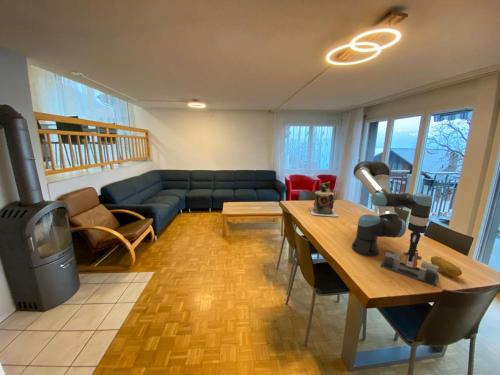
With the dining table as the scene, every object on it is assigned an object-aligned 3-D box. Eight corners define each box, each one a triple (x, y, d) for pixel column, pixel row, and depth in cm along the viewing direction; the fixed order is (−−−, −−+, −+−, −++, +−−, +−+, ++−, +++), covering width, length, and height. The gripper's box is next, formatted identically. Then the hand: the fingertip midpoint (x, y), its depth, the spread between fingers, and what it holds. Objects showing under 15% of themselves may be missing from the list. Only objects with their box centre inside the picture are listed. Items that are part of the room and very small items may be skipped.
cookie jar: (308, 208, 222) (311, 179, 216) (332, 209, 219) (335, 180, 213) (312, 216, 198) (315, 183, 192) (339, 217, 195) (343, 184, 189)
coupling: (420, 266, 110) (422, 254, 109) (419, 269, 107) (421, 257, 106) (402, 260, 116) (404, 249, 114) (401, 264, 112) (403, 252, 111)
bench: (380, 266, 117) (382, 253, 115) (385, 258, 125) (387, 246, 123) (436, 287, 100) (440, 272, 99) (438, 276, 109) (441, 262, 107)
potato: (450, 281, 105) (453, 268, 104) (425, 265, 119) (428, 254, 118) (463, 281, 106) (466, 268, 104) (437, 265, 120) (440, 253, 118)
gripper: (425, 230, 98) (416, 274, 103) (428, 221, 111) (420, 260, 115) (406, 226, 103) (398, 268, 108) (411, 217, 116) (404, 255, 120)
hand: (409, 264), depth 112 cm, fingers closed on coupling, 5 cm apart
